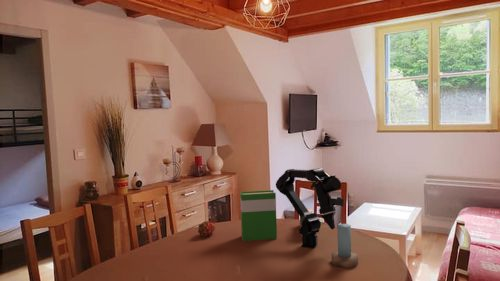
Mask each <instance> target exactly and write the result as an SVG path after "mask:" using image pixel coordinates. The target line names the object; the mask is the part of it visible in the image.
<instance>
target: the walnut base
mask: <svg viewBox="0 0 500 281" xmlns="http://www.w3.org/2000/svg"><path fill="white" fill-rule="evenodd" d="M331 264H332V265H334V266H336V267H338V268H344V269H345V268H347V269H348V268H356V266H358V265H359V256H358V254H357V253H355V252H354V251H351V257H349V258H342V257H339V256H338V250H337V251H333V252H332V253H331Z"/></svg>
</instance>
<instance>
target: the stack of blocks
mask: <svg viewBox="0 0 500 281" xmlns="http://www.w3.org/2000/svg"><path fill="white" fill-rule="evenodd" d="M306 208H307V207H306ZM307 210H308V211H309V212H310V213H313V209H312V207H308V208H307ZM301 226H302V225H301V217H300V216H299V228H300V227H301ZM299 236H300V237H301V238H302V234H300V233H299Z"/></svg>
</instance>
